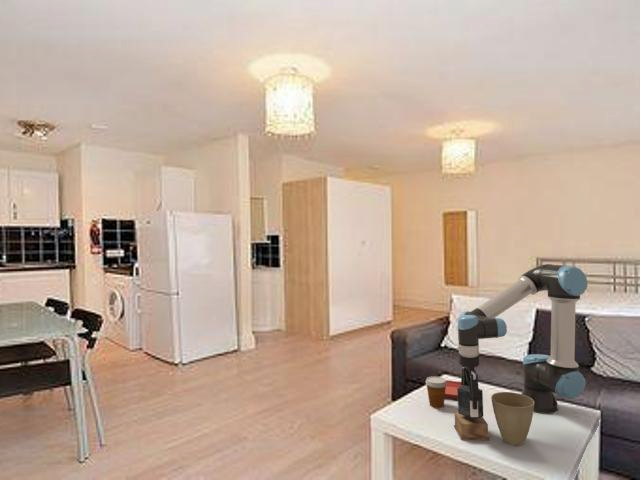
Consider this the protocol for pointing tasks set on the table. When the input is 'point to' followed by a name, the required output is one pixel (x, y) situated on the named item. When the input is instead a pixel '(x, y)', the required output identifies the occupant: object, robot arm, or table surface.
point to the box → (468, 402)
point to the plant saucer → (452, 389)
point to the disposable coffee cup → (436, 391)
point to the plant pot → (513, 416)
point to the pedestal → (471, 428)
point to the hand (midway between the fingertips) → (470, 410)
